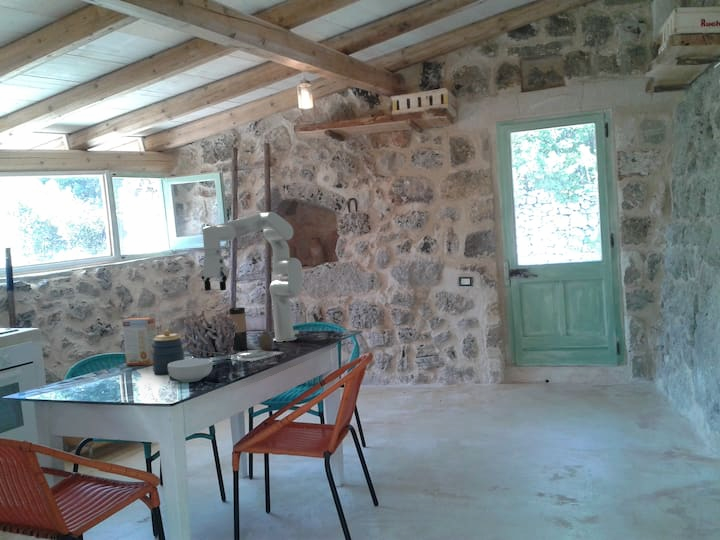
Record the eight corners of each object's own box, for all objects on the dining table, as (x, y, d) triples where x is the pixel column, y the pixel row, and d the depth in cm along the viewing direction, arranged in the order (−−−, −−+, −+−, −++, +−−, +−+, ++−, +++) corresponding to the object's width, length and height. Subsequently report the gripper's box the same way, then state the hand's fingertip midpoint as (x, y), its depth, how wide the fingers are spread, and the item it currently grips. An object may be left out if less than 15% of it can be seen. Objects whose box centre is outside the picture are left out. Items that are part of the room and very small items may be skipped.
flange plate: (251, 351, 306) (251, 347, 306) (283, 353, 295) (282, 349, 295) (220, 359, 290) (219, 355, 290) (252, 361, 278) (251, 357, 278)
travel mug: (249, 347, 319) (246, 307, 317) (245, 350, 311) (242, 308, 310) (234, 348, 319) (231, 307, 318) (229, 350, 312) (226, 309, 311)
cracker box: (159, 363, 290) (155, 317, 289) (149, 366, 285) (145, 319, 284) (135, 362, 296) (131, 317, 295) (125, 365, 291) (121, 319, 290)
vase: (259, 348, 312) (258, 330, 312) (274, 347, 313) (272, 329, 312) (258, 351, 305) (257, 332, 305) (273, 350, 306) (272, 331, 305)
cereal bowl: (190, 386, 237) (188, 367, 237) (159, 383, 246) (157, 365, 246) (222, 376, 252) (221, 358, 251) (192, 374, 260) (191, 356, 260)
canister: (174, 375, 260) (171, 332, 260) (147, 375, 264) (143, 332, 263) (191, 368, 273) (188, 327, 272) (165, 368, 277) (162, 327, 276)
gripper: (232, 251, 294) (235, 289, 295) (205, 253, 303) (208, 289, 304) (220, 252, 288) (223, 290, 288) (193, 254, 297) (196, 291, 298)
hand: (215, 290), depth 296 cm, fingers open, 9 cm apart
